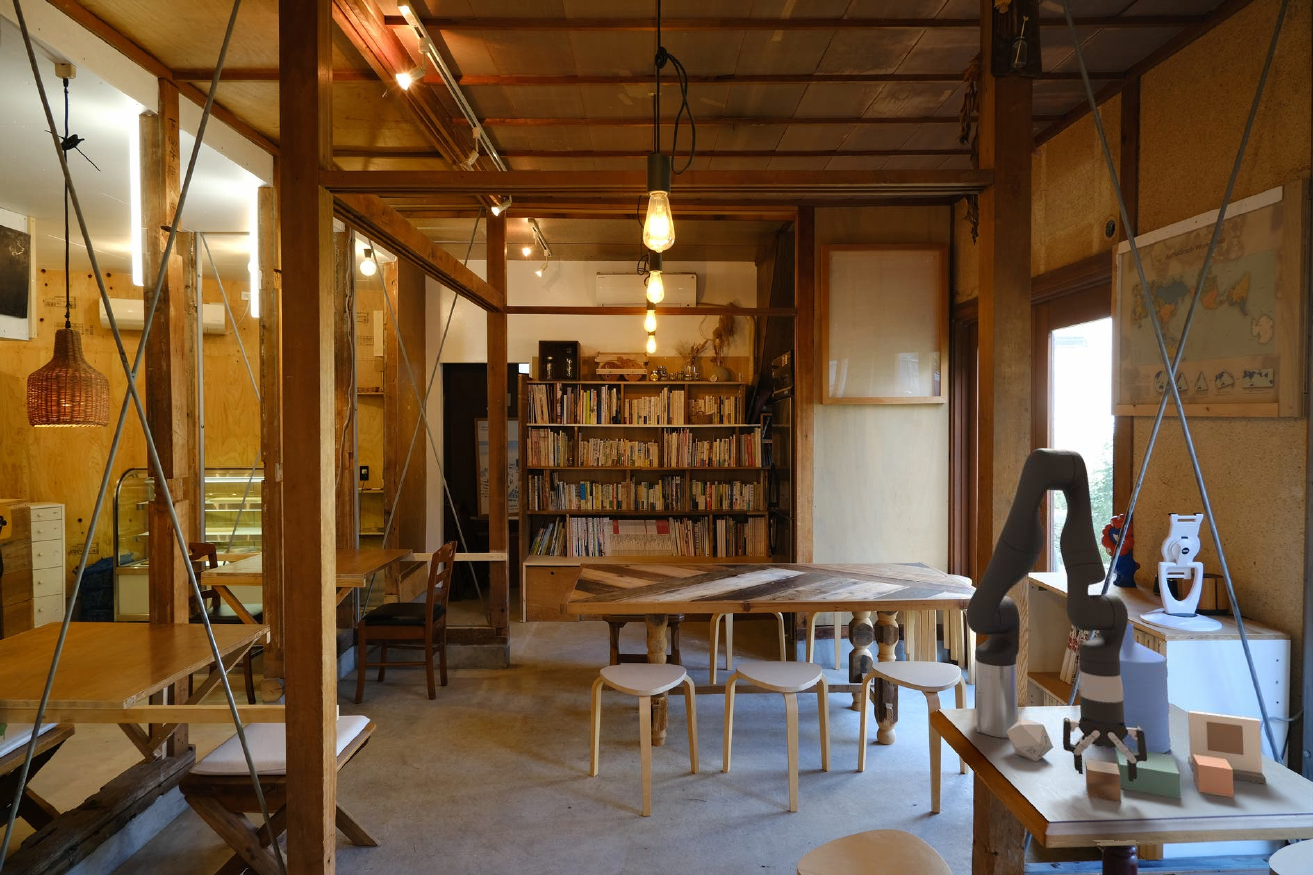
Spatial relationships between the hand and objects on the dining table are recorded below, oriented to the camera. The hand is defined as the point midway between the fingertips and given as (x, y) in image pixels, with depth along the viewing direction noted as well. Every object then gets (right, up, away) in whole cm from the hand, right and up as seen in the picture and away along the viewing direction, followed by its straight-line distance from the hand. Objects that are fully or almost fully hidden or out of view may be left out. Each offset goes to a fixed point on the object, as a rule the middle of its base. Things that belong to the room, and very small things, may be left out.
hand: (1105, 776), depth 143 cm
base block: (+12, -4, +5) cm, 13 cm away
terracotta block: (+23, -3, +2) cm, 23 cm away
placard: (+31, -3, +9) cm, 33 cm away
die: (-5, -5, +19) cm, 20 cm away
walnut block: (0, -4, 0) cm, 4 cm away
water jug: (+22, -4, +25) cm, 33 cm away
